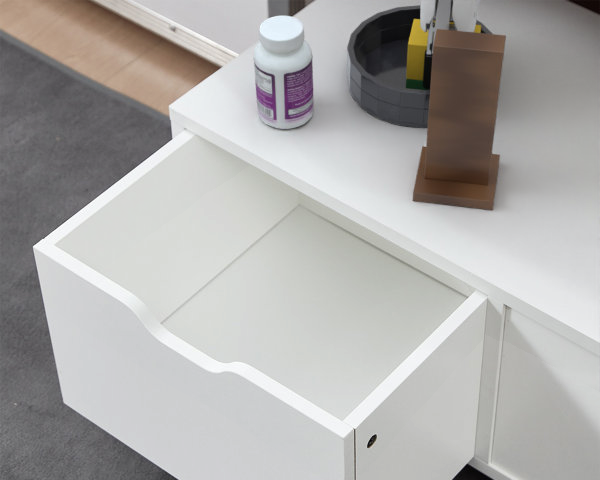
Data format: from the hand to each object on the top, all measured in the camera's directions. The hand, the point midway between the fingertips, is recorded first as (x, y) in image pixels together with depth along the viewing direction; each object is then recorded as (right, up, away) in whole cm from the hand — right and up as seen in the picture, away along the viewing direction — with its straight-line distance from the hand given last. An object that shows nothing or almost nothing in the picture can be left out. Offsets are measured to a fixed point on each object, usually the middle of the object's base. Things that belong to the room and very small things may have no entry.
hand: (442, 70), depth 118 cm
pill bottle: (-15, -4, -1) cm, 16 cm away
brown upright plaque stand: (0, -11, -9) cm, 14 cm away
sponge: (0, -1, +1) cm, 1 cm away
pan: (-2, -1, +1) cm, 3 cm away
